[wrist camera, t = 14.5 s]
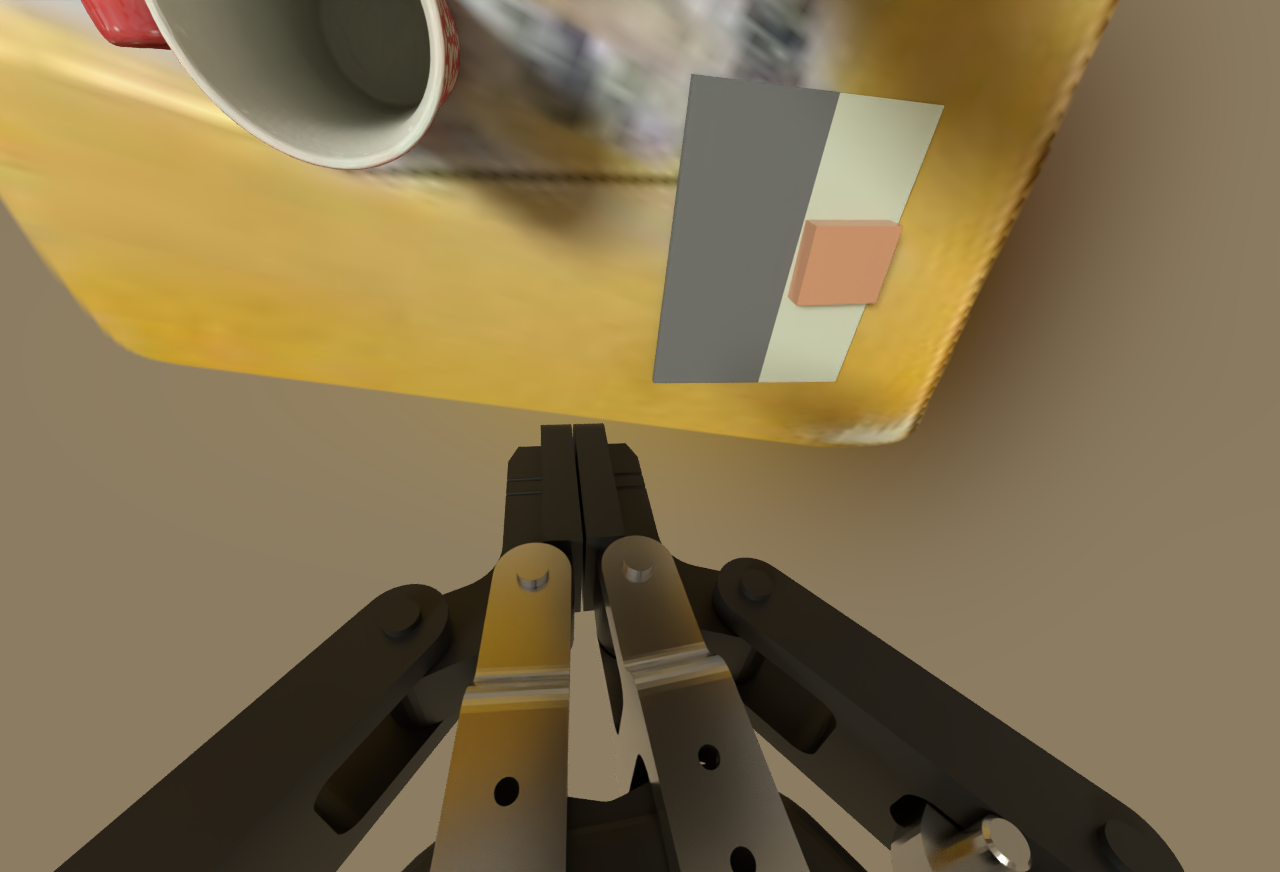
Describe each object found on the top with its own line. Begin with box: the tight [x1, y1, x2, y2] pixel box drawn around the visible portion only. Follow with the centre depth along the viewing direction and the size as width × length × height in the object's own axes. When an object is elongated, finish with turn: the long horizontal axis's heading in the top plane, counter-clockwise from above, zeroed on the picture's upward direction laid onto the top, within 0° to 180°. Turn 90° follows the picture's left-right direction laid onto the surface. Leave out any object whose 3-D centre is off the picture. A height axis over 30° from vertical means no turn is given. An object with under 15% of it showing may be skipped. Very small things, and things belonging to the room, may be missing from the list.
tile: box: [788, 220, 903, 306], centre depth 37 cm, size 6×2×7 cm
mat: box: [652, 74, 945, 383], centre depth 38 cm, size 22×18×1 cm
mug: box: [81, 0, 460, 170], centre depth 21 cm, size 13×9×14 cm
